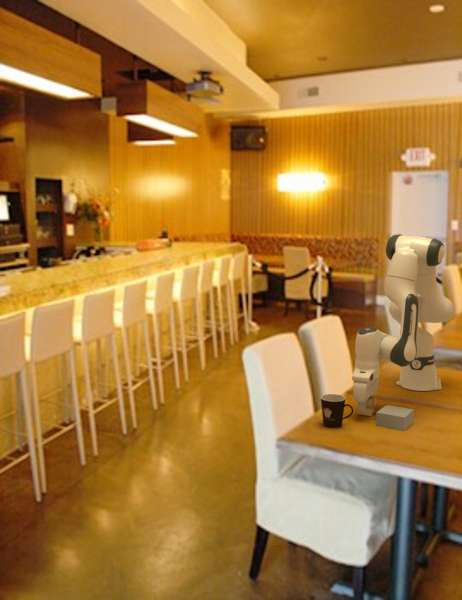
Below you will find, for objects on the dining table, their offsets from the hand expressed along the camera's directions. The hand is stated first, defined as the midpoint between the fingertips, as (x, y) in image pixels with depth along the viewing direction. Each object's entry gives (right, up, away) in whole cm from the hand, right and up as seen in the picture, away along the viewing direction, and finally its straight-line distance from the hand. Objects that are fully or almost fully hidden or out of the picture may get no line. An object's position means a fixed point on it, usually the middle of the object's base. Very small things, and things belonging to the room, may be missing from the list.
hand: (366, 407), depth 223 cm
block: (+8, -4, -11) cm, 14 cm away
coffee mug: (-14, -5, -13) cm, 19 cm away
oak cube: (0, -2, 0) cm, 2 cm away
